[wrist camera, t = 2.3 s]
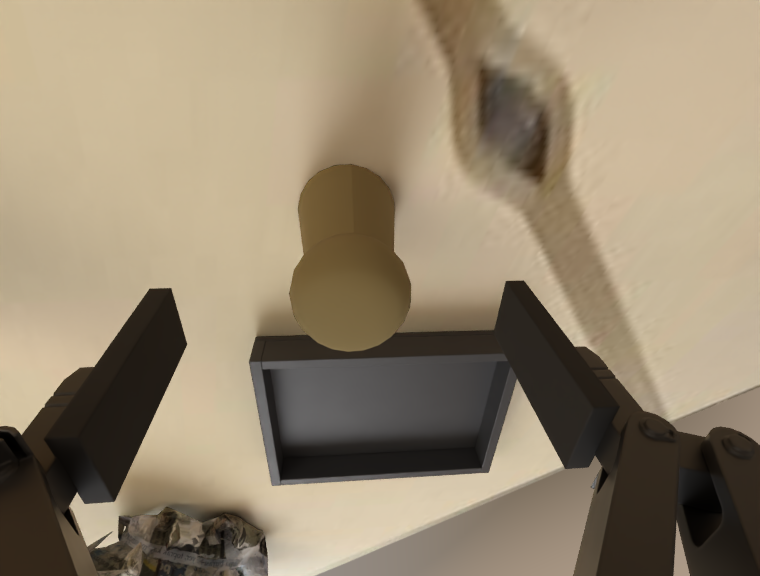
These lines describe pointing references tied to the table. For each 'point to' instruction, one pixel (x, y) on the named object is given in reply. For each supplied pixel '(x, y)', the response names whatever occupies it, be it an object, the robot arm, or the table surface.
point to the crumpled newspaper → (182, 547)
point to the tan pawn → (348, 261)
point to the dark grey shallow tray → (381, 406)
